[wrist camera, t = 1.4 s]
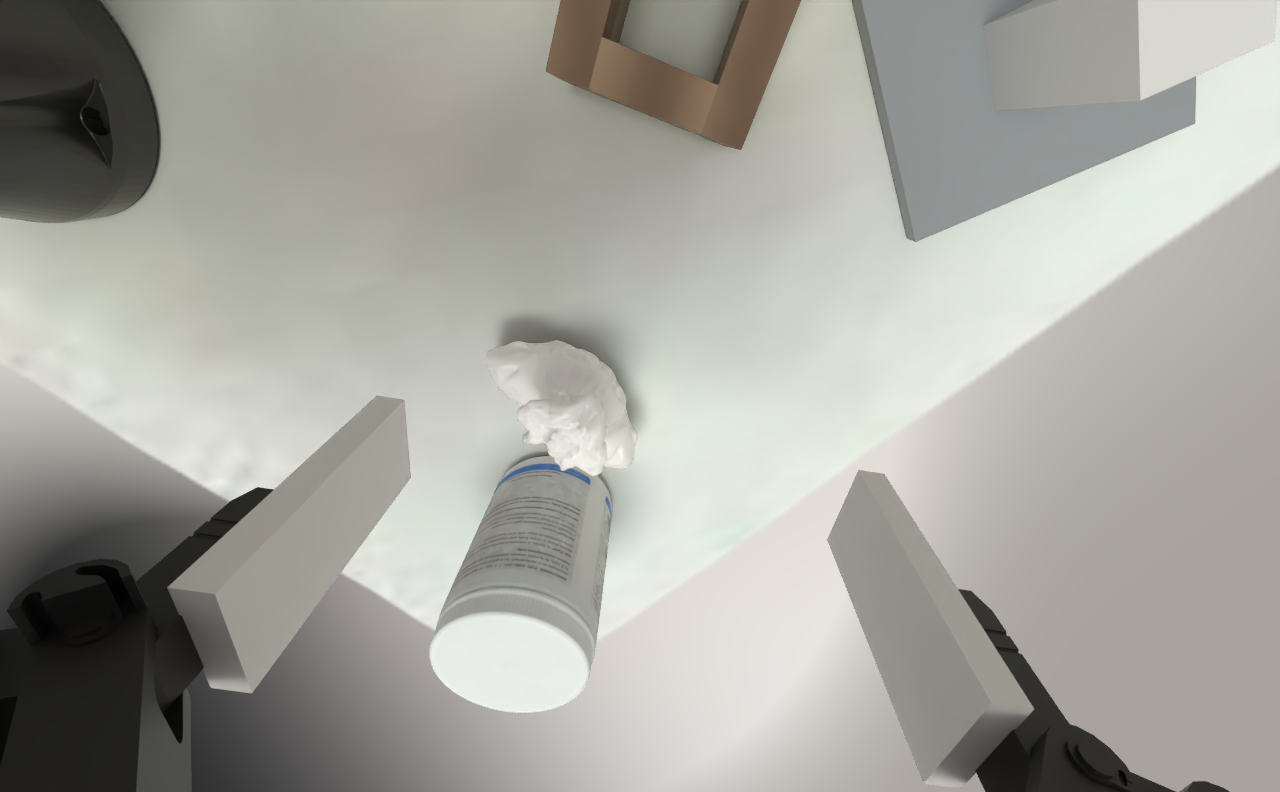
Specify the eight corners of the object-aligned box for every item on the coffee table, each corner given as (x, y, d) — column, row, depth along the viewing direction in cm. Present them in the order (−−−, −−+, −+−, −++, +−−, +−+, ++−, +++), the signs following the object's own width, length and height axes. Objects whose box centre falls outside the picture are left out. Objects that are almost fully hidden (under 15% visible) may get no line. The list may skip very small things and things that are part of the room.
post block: (845, -27, 24) (949, -120, 15) (1174, -215, 21) (1553, -473, 12) (906, 237, 30) (1009, 282, 21) (1173, 123, 27) (1431, 119, 18)
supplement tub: (475, 490, 41) (387, 655, 28) (556, 429, 38) (499, 584, 25) (557, 558, 44) (512, 734, 31) (638, 507, 41) (625, 680, 28)
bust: (641, 412, 39) (714, 415, 29) (584, 492, 38) (641, 526, 27) (519, 312, 36) (553, 274, 26) (450, 394, 34) (456, 390, 24)
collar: (569, 83, 27) (545, 71, 22) (622, -144, 23) (609, -227, 18) (727, 146, 28) (741, 149, 23) (806, -59, 24) (846, -113, 19)
